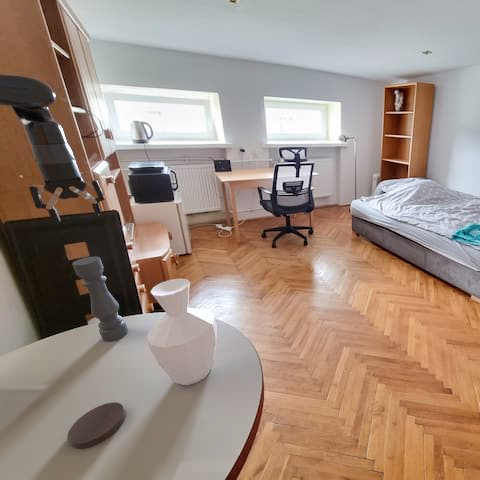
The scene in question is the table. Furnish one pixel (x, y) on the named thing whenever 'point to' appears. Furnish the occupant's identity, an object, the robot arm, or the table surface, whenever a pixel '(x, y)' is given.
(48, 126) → the robot arm
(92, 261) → the candle holder
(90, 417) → the coaster
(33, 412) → the table surface
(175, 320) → the vase
